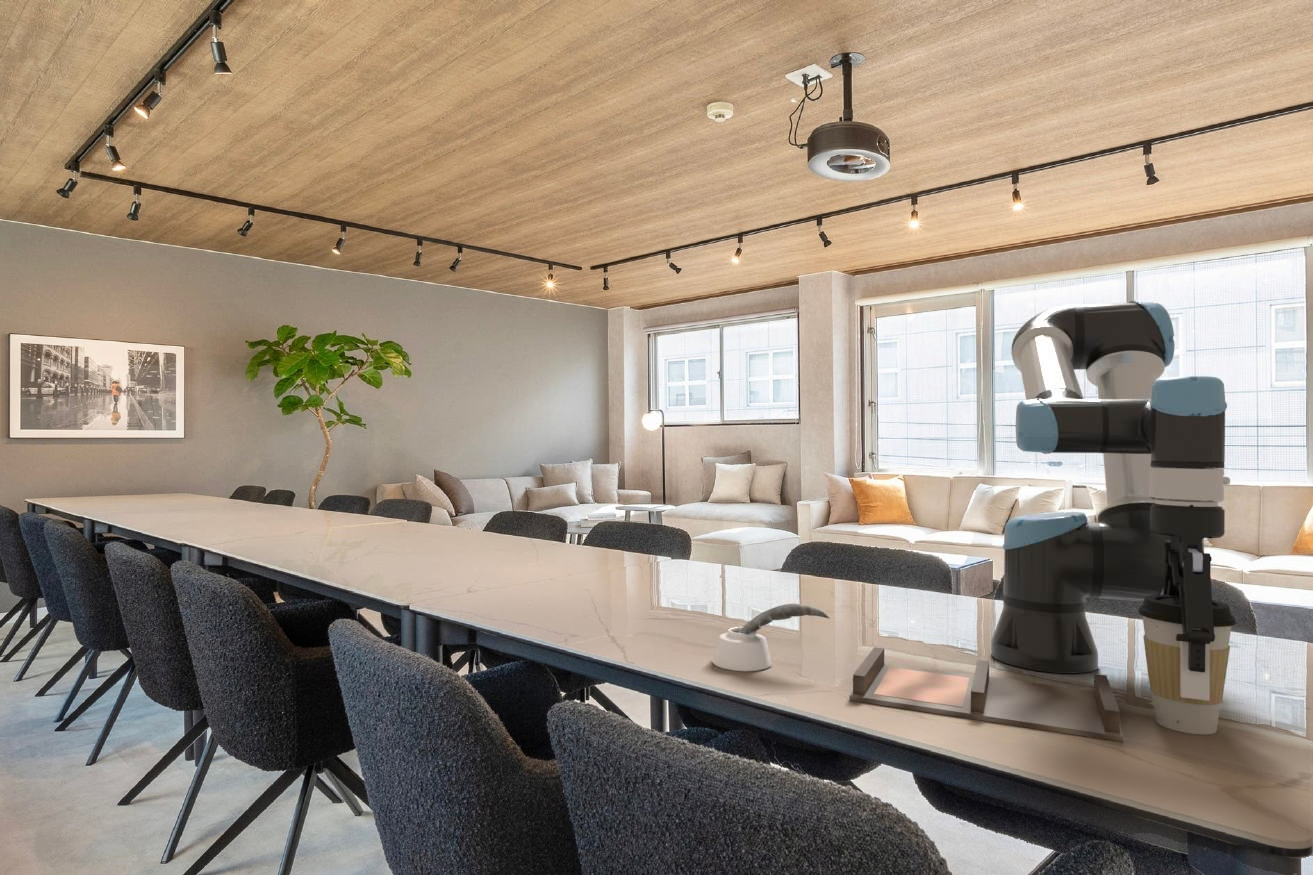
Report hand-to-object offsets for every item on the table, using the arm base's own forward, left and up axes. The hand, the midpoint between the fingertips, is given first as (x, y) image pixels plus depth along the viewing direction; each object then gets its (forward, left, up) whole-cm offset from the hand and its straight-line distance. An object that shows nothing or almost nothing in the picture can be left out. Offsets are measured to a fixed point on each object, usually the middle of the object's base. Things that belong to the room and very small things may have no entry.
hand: (1185, 684), depth 94 cm
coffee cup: (0, 0, -5) cm, 5 cm away
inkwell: (-52, 0, -5) cm, 53 cm away
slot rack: (-23, -1, -5) cm, 24 cm away
